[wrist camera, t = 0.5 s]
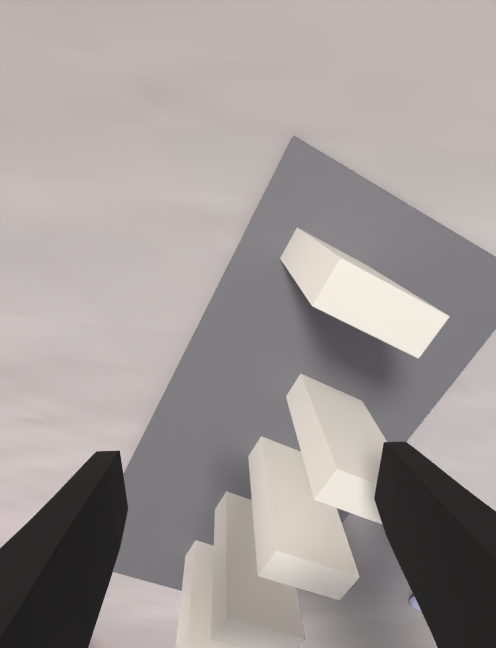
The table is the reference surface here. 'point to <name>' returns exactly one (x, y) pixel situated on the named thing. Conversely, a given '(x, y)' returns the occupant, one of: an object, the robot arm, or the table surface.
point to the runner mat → (295, 352)
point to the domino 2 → (361, 295)
